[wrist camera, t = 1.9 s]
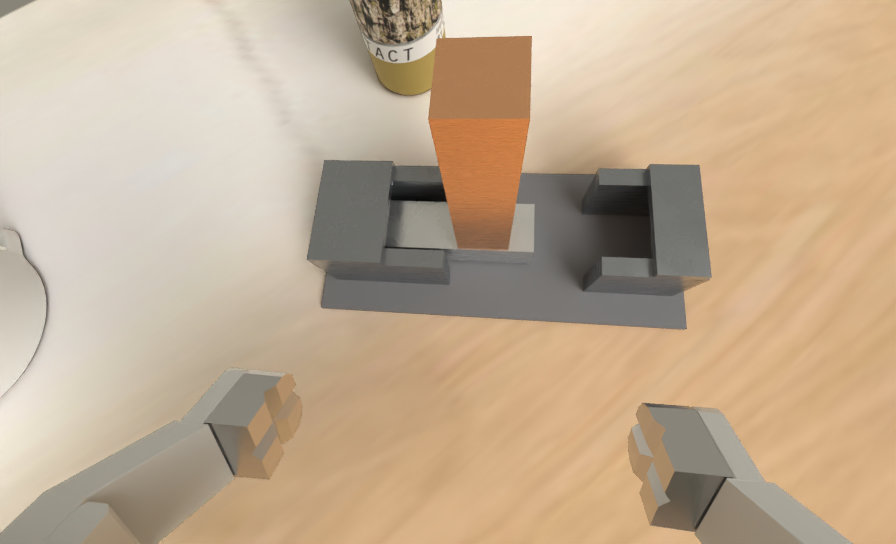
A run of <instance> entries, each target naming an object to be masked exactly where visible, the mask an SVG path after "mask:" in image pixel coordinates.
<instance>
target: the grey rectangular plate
mask: <svg viewBox="0 0 896 544" xmlns="http://www.w3.org/2000/svg"><path fill="white" fill-rule="evenodd" d="M594 177H595V175H586V174H522V173H521V176H520V182H519V188H518V194H517V200H516V204H535V211H534V253H533V256H532V258H531V261H530V264H523V263H499V262H476V261H452V260H447V261H448V264H449V267H450V270H451V272H450V285H437V284H417V283H397V282H377V281H357V280H338V279H336V278H334V277H333V276H331V275H330V274H328V273H327V274H326V280H325V286H324V292H323V298H322V304H321V307H322V308H329V309H346V310H363V311H380V312H396V313H413V314H430V315H447V316H464V317H481V318H498V319H515V320H532V321H549V322H565V323H582V324H599V325H616V326H633V327H650V328H667V329H687V326H686V314H685V303H684V292H681V293H678V294H676V295H674V296H657V295H637V294H617V293H597V292H583V276H584V275H585V274H586V273H587V272H588V271H589V270H590V268H591V267H592V266H593V265H594V264H595V263H596V262H597V261H598V260H599V259H600V258H601V257H622V258H647V259H652V250H651V235H650V221H649V216H619V215H582V199H583V197H584V195H585V194H586V192H587V190H588V188H589V186H590V184H591V182H592V180H593V179H594Z"/></svg>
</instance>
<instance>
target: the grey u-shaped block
mask: <svg viewBox="0 0 896 544" xmlns="http://www.w3.org/2000/svg"><path fill="white" fill-rule="evenodd" d="M390 201H427V202H447V199H446V194H445V190H444V185H443V181H442V177H441V172H440V168H439V166H395V165H394V163H393V161H338V160H324V166H323V171H322V177H321V182H320V188H319V194H318V199H317V205H316V210H315V216H314V222H313V227H312V233H311V239H310V244H309V250H308V255H307V260H308V261H310V262H311V263H313V264H314V265H316V266H318V267H319V268H321V269H322V270H324V271H325V272H327V273H328V274H330V275H331V276H333V277H334V278H336V279H338V280H357V281H377V282H397V283H417V284H437V285H450V272H451V270H450V267H449V264H448V261H447V258H446V255H445V252H444V250H419V249H393V248H385V242H386V234H387V226H388V218H389V210H390Z"/></svg>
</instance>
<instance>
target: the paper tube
mask: <svg viewBox="0 0 896 544" xmlns="http://www.w3.org/2000/svg"><path fill="white" fill-rule="evenodd" d="M350 3H351V6H352V9H353V11H354V14H355V17H356V20H357V22H358V25H359V28H360V30H361V33H362V36H363V39H364V41H365V44H366V46H367V49H368V51H369V54H370V57H371V60H372V62H373V65H374V68H375V71H376V73H377V76H378V78H379V80H380V81H381V83H382V84H383V85H384V86H385V87H386V88H388V89H389V90H391V91H393V92H395V93H398V94H402V95H416V94H420V93H423V92H426V91H428V90H430V89H431V88H432V78H433V68H434V58H435V48H436V39H437V38H446V37H445V29H444V18H443V10H442V2H441V0H350Z"/></svg>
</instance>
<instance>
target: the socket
mask: <svg viewBox="0 0 896 544" xmlns="http://www.w3.org/2000/svg"><path fill="white" fill-rule="evenodd" d="M582 215H619V216H649V221H650V235H651V250H652V259H647V258H622V257H601V258H600V259H599V260H598V261H597V262H596V263H595V264H594V265H593V266H592V267H591V268H590V270H589V271H588V272H587V273H586V274H585V275H584V276H583V292H597V293H617V294H637V295H657V296H674V295H676V294H678V293H681V292H683V291H685V290H688V289H690V288H692V287H694V286H697V285H699V284H701V283H704V282H706V281H708V280H709V278H711V277H712V276H711V267H710V258H709V249H708V240H707V230H706V221H705V212H704V203H703V194H702V185H701V175H700V166H699V165H664V164H650V165H649V166H648V167H647V169H598V171H597V173H596V175H595V177H594V179H593V180H592V182H591V184H590V186H589V188H588V190H587V192H586V194H585V195H584V197H583V199H582Z"/></svg>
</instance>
